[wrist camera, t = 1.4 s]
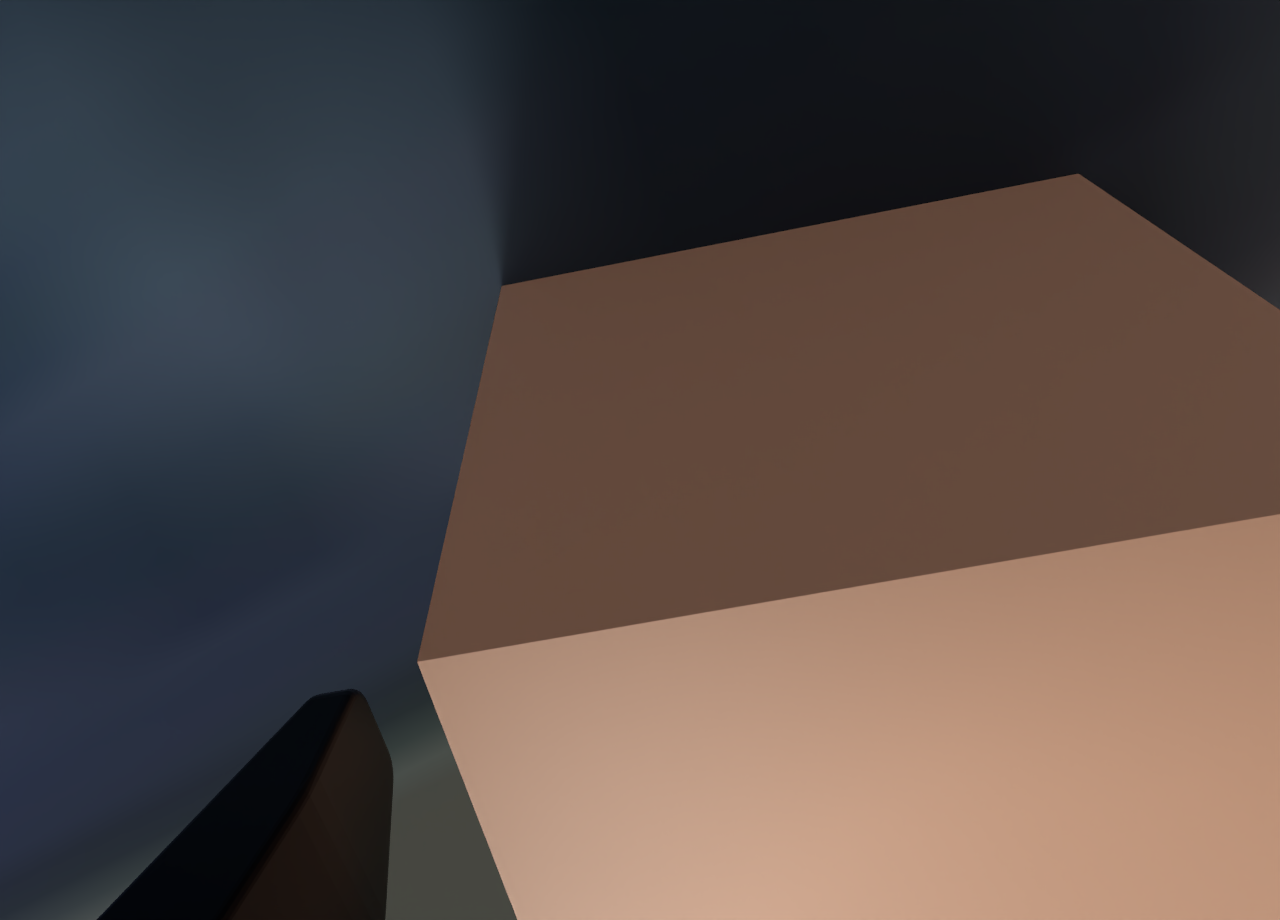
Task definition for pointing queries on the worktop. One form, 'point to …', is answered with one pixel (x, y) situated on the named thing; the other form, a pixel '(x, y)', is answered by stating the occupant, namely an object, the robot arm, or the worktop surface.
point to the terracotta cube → (875, 576)
